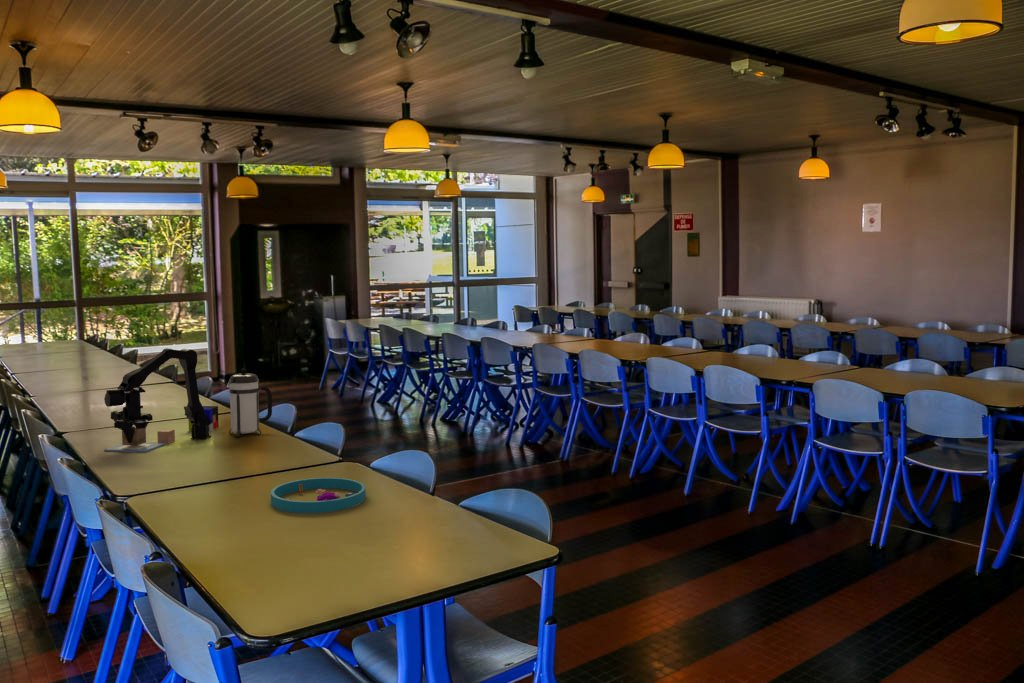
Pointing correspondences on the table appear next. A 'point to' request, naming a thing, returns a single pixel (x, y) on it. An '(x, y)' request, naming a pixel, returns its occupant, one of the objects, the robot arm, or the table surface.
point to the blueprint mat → (136, 447)
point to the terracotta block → (166, 435)
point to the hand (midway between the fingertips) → (134, 441)
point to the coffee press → (246, 403)
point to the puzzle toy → (210, 417)
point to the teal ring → (323, 502)
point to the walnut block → (135, 437)
